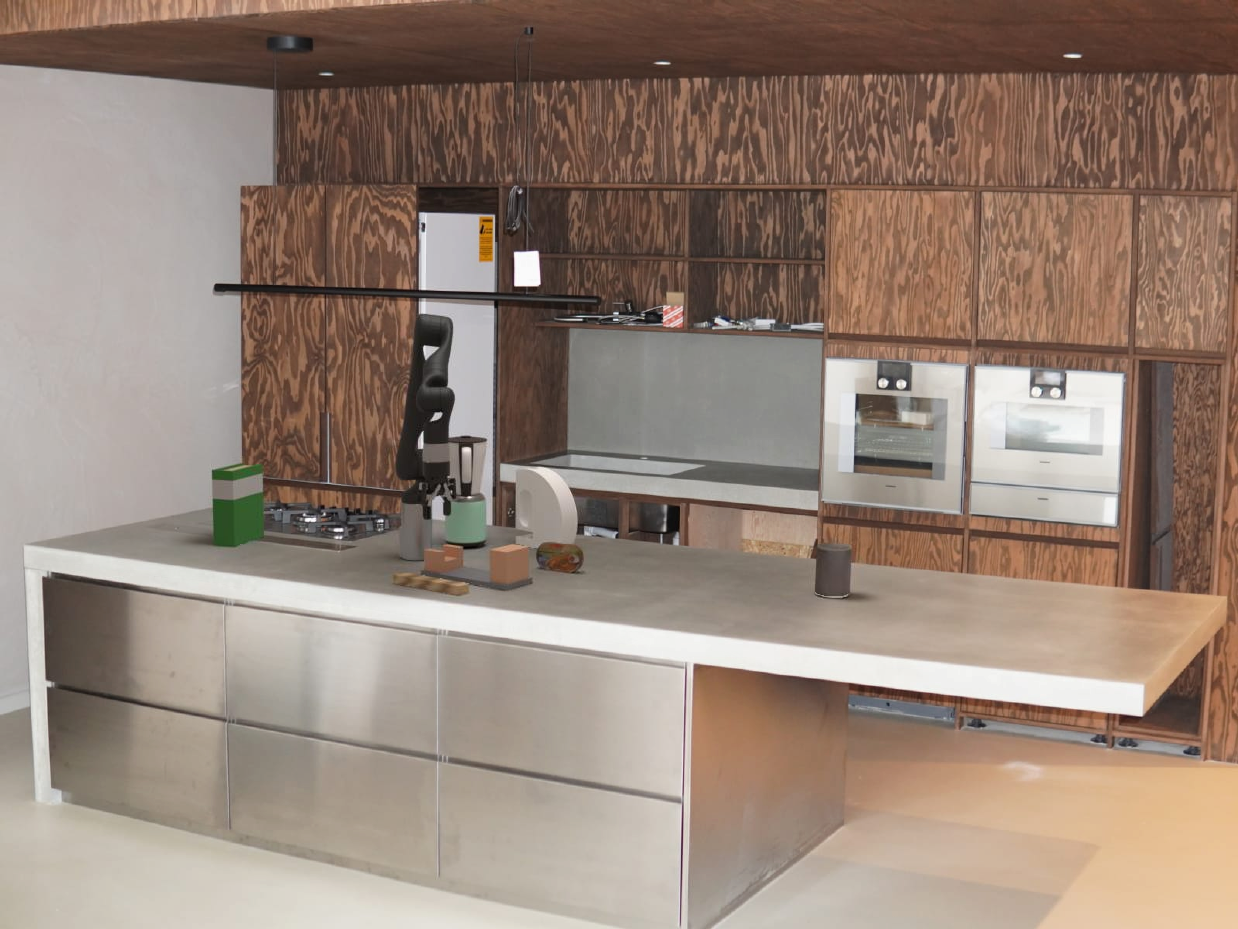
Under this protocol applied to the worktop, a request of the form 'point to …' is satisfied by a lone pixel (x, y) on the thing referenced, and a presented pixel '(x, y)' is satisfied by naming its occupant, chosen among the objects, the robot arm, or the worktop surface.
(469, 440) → the blender
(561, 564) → the tin
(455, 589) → the slat
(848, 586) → the pillar candle
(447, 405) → the robot arm
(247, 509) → the hardback book
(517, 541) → the bracket
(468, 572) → the end cap rail
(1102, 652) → the worktop surface
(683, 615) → the worktop surface
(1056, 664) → the worktop surface
